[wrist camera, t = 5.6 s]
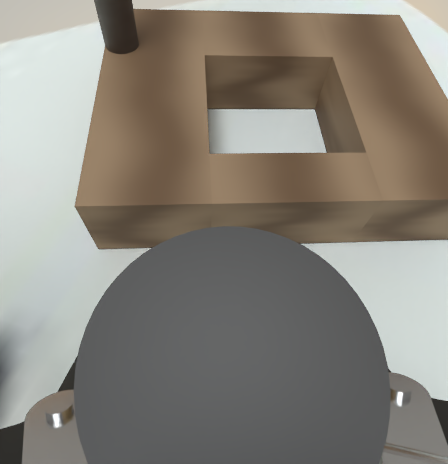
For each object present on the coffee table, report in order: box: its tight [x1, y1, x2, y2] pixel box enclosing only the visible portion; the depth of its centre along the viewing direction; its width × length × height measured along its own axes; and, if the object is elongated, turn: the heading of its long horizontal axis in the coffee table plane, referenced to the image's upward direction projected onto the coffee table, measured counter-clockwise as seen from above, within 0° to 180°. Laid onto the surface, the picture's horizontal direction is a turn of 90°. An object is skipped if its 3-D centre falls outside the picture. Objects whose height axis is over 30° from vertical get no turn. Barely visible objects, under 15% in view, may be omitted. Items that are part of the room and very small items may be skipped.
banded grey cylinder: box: [74, 226, 391, 464], centre depth 10 cm, size 5×5×11 cm
